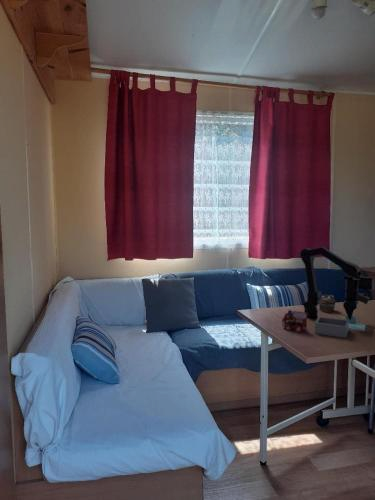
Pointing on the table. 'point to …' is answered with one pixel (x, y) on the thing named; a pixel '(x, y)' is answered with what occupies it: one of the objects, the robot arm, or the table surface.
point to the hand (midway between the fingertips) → (350, 317)
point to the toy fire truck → (295, 321)
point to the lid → (355, 324)
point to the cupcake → (327, 303)
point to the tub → (331, 327)
